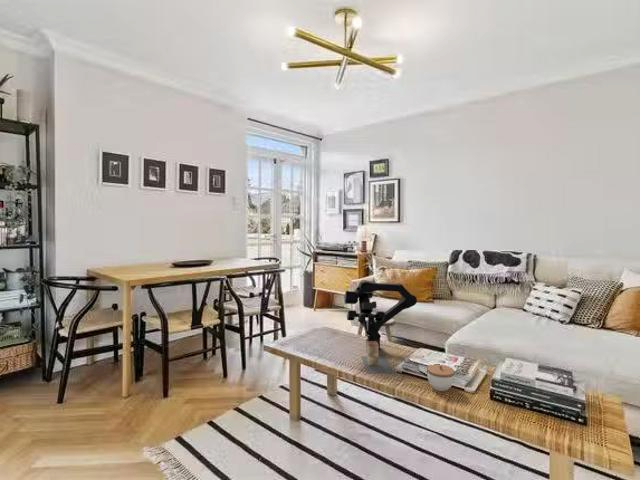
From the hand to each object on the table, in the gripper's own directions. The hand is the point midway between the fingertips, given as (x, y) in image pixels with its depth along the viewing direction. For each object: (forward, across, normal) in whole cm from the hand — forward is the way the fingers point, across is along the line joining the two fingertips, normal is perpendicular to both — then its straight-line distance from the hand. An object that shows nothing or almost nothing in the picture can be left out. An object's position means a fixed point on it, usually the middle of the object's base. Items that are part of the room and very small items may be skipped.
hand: (367, 331), depth 181 cm
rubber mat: (+16, +4, +3) cm, 17 cm away
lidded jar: (+32, +25, -14) cm, 43 cm away
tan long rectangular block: (+15, +2, +4) cm, 15 cm away
